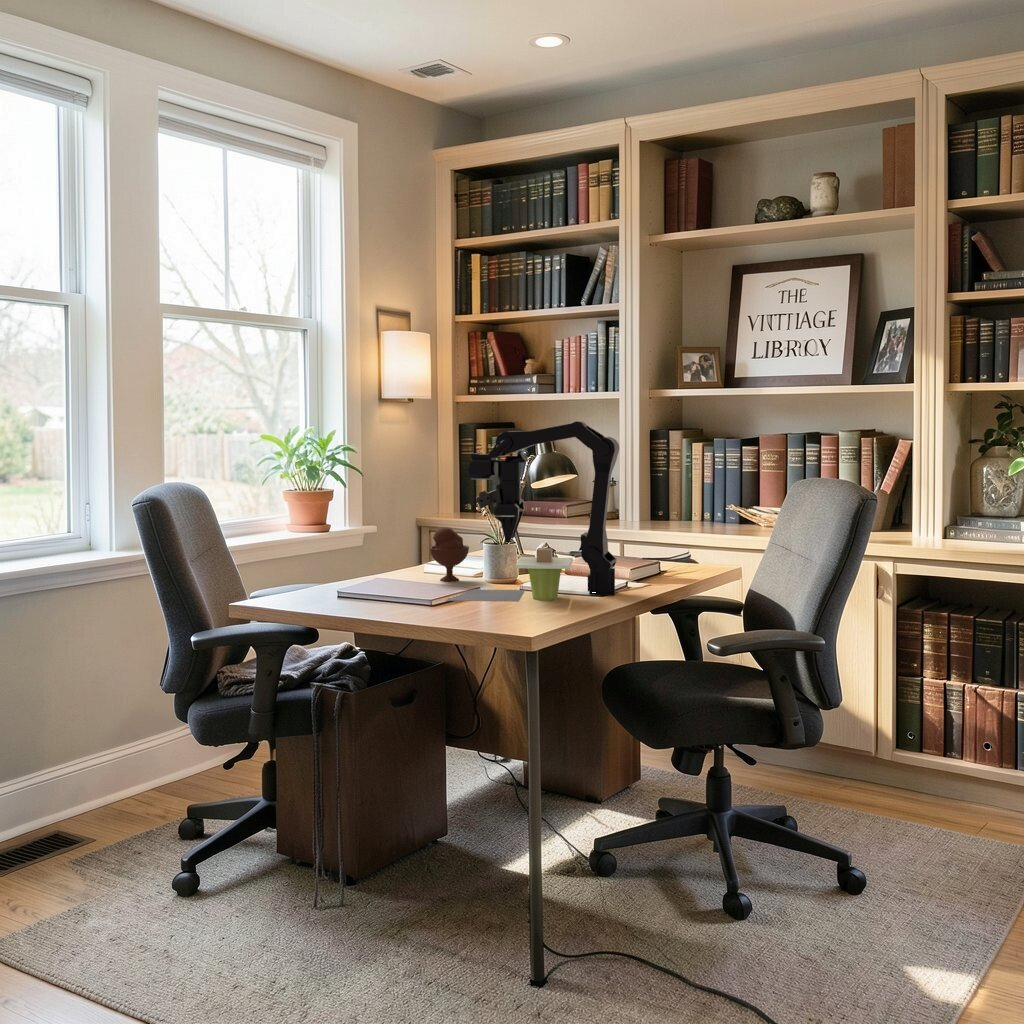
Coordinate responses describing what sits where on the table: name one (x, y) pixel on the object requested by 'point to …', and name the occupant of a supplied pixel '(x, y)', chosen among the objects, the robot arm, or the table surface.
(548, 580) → the plant pot
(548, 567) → the sage lid
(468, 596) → the gray flat panel
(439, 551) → the ice cream bowl
